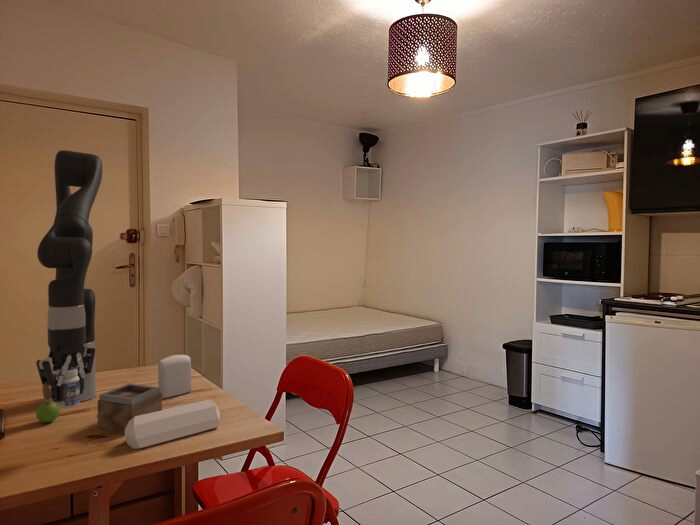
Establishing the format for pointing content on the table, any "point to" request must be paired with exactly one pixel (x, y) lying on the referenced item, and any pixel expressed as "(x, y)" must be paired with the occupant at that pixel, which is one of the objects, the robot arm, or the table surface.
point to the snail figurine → (47, 407)
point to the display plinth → (127, 405)
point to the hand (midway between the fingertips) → (68, 397)
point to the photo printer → (174, 375)
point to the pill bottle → (70, 389)
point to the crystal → (171, 423)
